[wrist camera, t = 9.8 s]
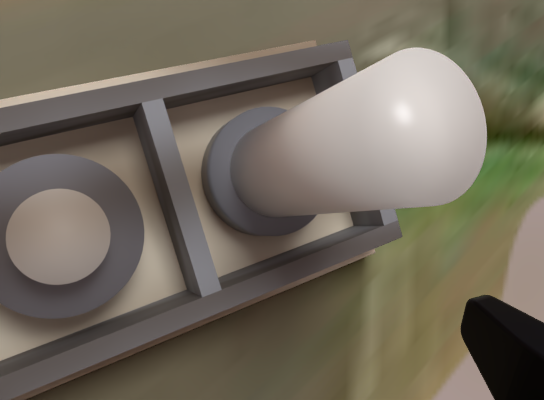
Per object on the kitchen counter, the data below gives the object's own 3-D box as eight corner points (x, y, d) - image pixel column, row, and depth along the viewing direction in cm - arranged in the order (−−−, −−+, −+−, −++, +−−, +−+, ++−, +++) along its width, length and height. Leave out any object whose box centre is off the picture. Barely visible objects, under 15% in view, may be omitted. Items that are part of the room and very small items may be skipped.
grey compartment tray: (364, 251, 25) (430, 257, 21) (-26, 412, 18) (-57, 476, 14) (305, 46, 25) (361, 5, 20) (-127, 130, 17) (-194, 96, 13)
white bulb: (328, 213, 23) (530, 199, 13) (224, 253, 21) (372, 271, 11) (294, 102, 23) (475, 2, 13) (184, 130, 21) (301, 35, 11)
